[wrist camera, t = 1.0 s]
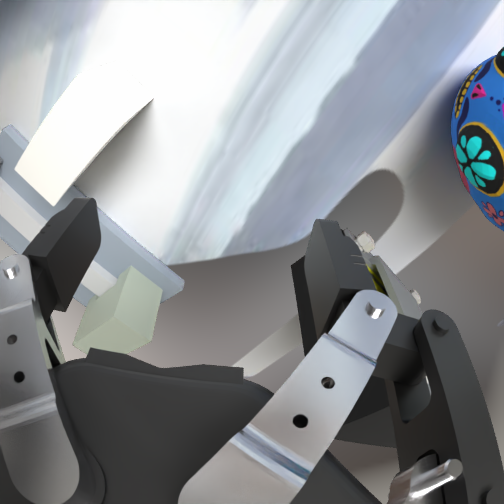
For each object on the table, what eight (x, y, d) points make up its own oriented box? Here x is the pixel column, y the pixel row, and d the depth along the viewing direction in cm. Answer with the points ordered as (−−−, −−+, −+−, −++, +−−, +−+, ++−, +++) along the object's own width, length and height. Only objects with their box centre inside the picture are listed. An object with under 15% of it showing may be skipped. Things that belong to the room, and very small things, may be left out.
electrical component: (418, 290, 41) (468, 416, 25) (361, 326, 45) (392, 450, 30) (356, 216, 33) (426, 387, 17) (286, 268, 37) (308, 437, 22)
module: (55, 135, 25) (14, 169, 20) (116, 61, 22) (77, 75, 16) (87, 167, 28) (53, 206, 22) (153, 97, 24) (124, 122, 18)
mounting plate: (-25, 201, 29) (-63, 244, 22) (10, 124, 24) (-44, 162, 17) (121, 321, 43) (106, 373, 36) (184, 281, 38) (174, 342, 31)
